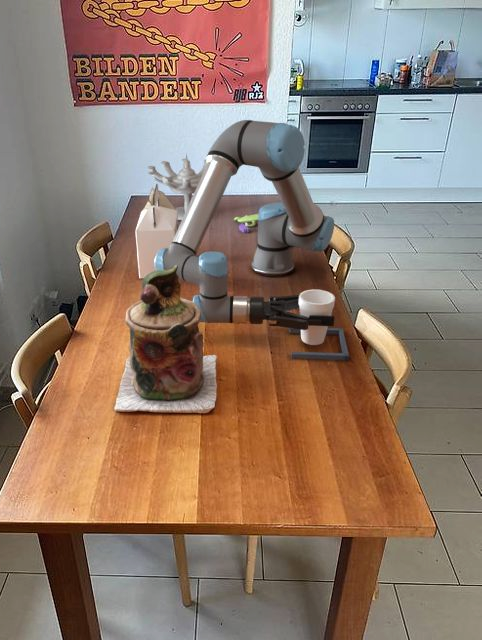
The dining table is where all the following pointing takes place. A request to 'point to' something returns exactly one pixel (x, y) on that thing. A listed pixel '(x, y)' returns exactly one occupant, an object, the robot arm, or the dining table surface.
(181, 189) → the candelabra
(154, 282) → the cookie jar
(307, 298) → the foam cup
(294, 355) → the bay
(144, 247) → the gable box
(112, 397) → the dining table surface
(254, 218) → the toy airplane
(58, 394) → the dining table surface
